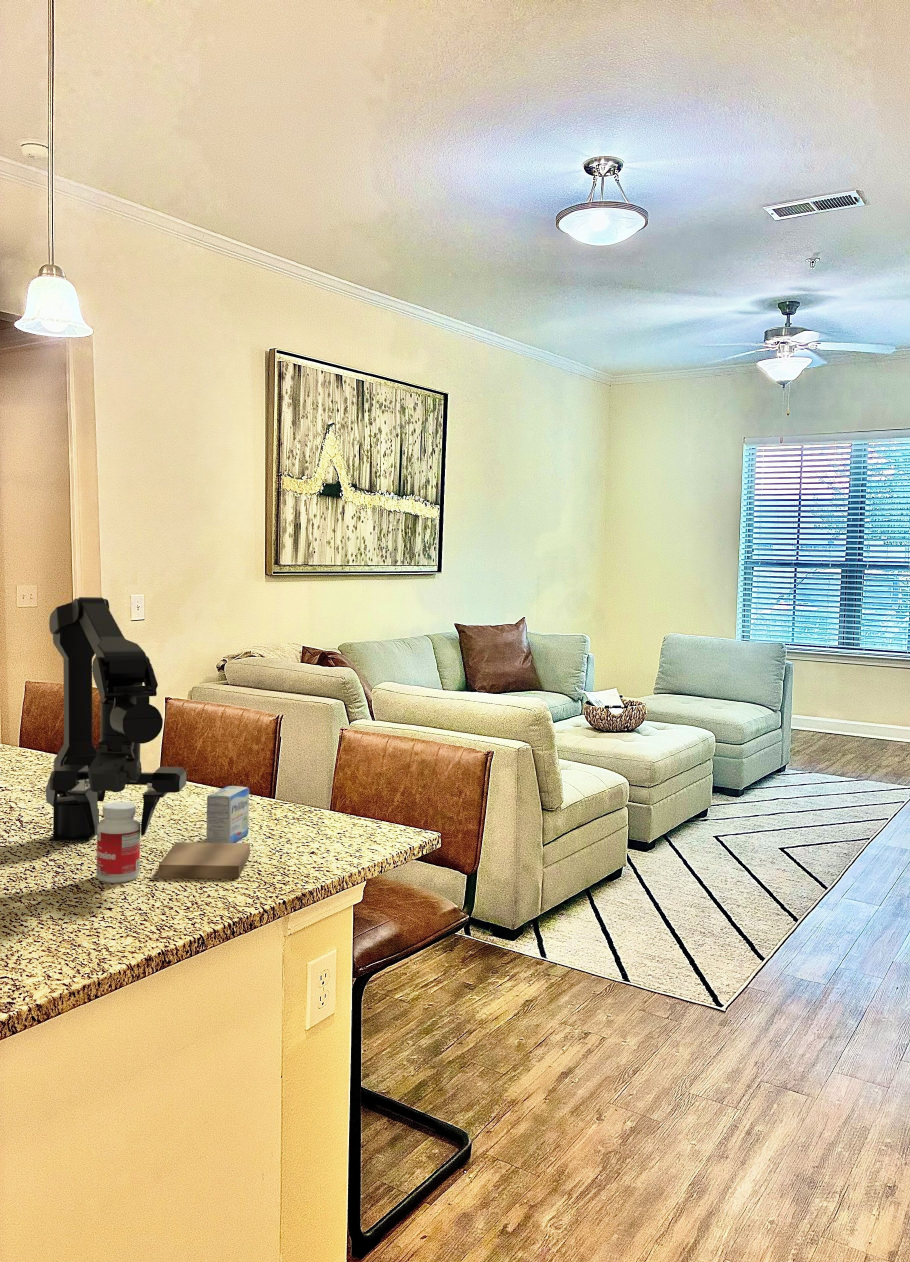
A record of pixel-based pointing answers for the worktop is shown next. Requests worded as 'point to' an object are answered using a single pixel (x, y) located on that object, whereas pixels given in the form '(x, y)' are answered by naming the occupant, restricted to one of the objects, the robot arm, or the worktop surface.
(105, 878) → the pill bottle
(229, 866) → the walnut plinth
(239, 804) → the medicine box
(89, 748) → the robot arm
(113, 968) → the worktop surface
